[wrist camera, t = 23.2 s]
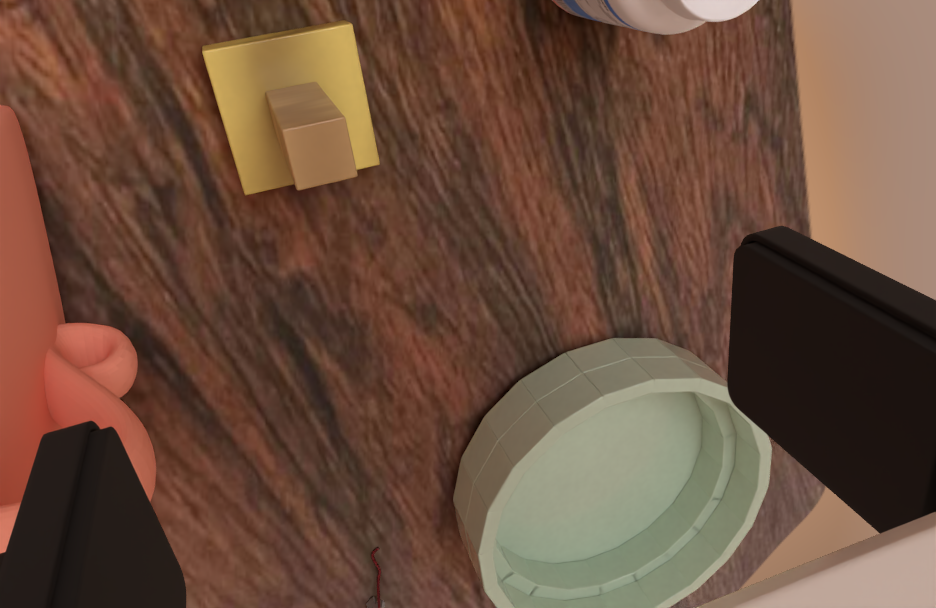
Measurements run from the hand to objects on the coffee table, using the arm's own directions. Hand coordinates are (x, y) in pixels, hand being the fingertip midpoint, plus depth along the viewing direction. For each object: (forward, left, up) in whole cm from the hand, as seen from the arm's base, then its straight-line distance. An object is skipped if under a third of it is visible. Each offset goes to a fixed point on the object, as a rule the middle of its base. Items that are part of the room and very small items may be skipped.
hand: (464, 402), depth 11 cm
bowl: (-12, +24, -22) cm, 35 cm away
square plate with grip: (0, 0, -22) cm, 22 cm away
